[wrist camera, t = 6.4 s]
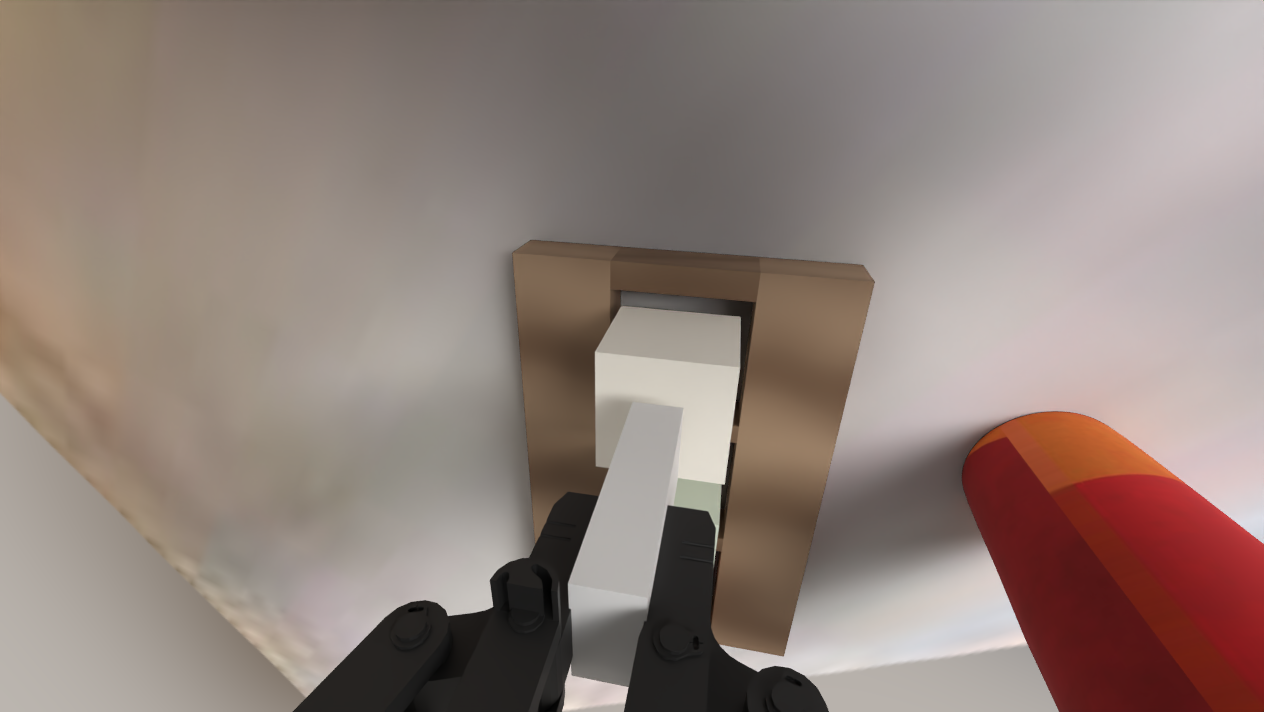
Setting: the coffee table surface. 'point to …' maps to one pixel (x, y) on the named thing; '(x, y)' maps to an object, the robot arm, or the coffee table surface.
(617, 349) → the tile one
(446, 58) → the coffee table surface
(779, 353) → the tile board
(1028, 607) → the coffee cup
